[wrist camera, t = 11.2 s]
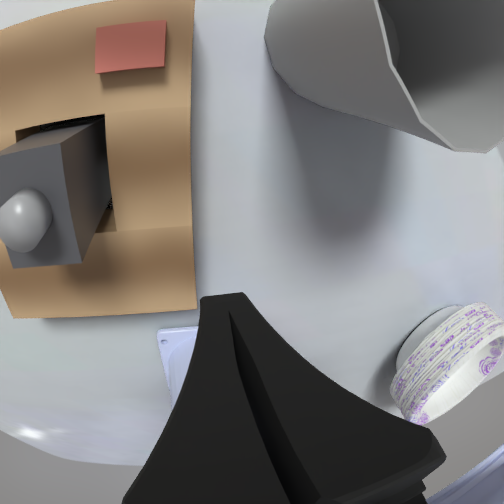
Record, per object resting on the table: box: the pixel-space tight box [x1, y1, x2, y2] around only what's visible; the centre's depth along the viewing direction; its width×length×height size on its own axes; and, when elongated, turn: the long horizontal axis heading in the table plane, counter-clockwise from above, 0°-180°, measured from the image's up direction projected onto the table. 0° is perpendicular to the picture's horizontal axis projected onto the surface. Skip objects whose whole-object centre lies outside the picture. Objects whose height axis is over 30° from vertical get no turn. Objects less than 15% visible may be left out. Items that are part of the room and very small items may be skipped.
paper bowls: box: [390, 302, 504, 425], centre depth 29 cm, size 15×15×8 cm
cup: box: [264, 0, 504, 153], centre depth 10 cm, size 8×8×10 cm
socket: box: [0, 0, 197, 318], centre depth 13 cm, size 16×12×4 cm
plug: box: [0, 117, 112, 269], centre depth 11 cm, size 4×3×8 cm
